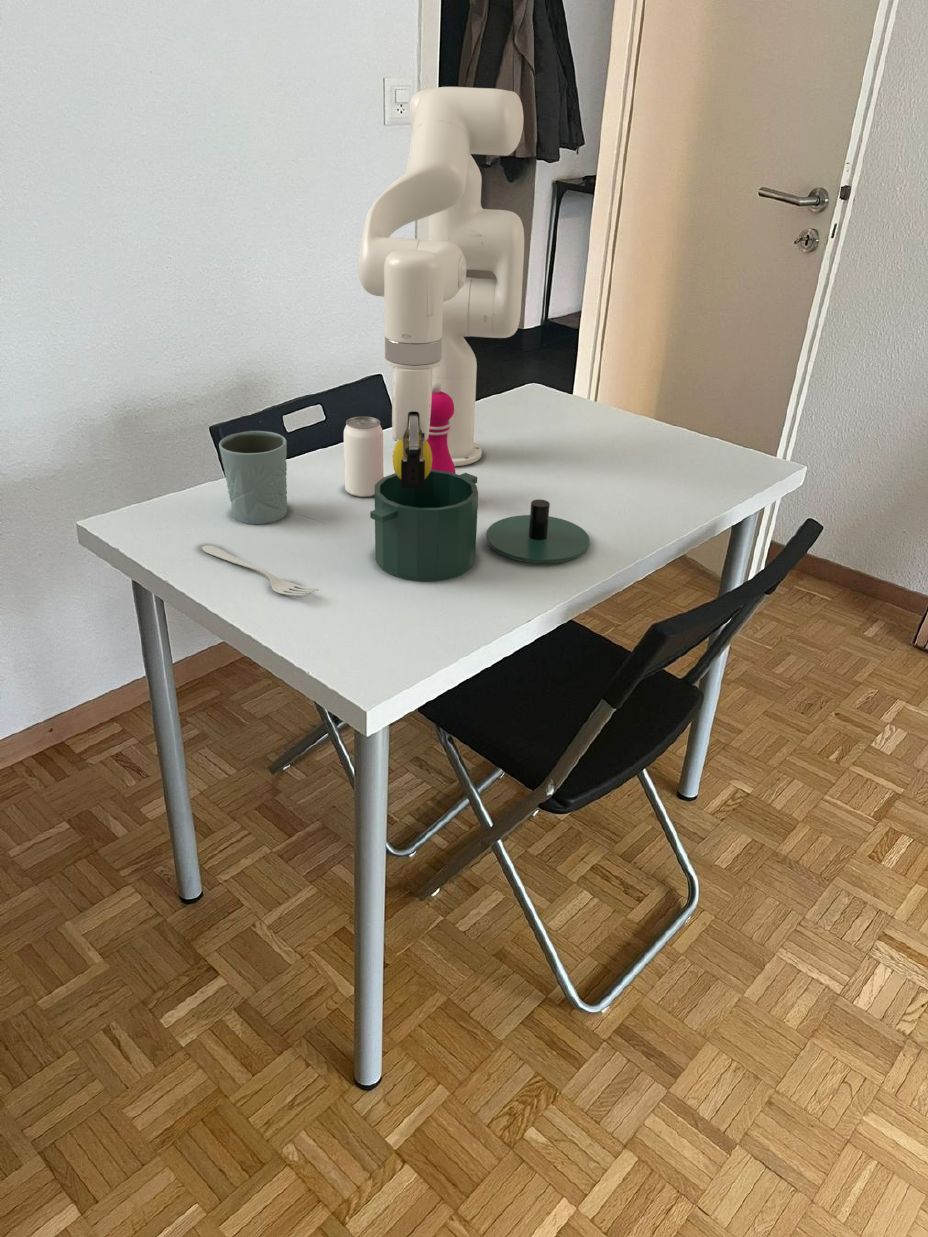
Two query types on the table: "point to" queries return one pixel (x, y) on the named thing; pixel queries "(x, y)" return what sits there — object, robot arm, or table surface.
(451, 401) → the pepper mill
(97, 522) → the table surface
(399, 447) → the lemon
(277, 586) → the fork
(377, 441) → the can
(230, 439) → the grey-green cup
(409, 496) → the pot
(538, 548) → the lid
